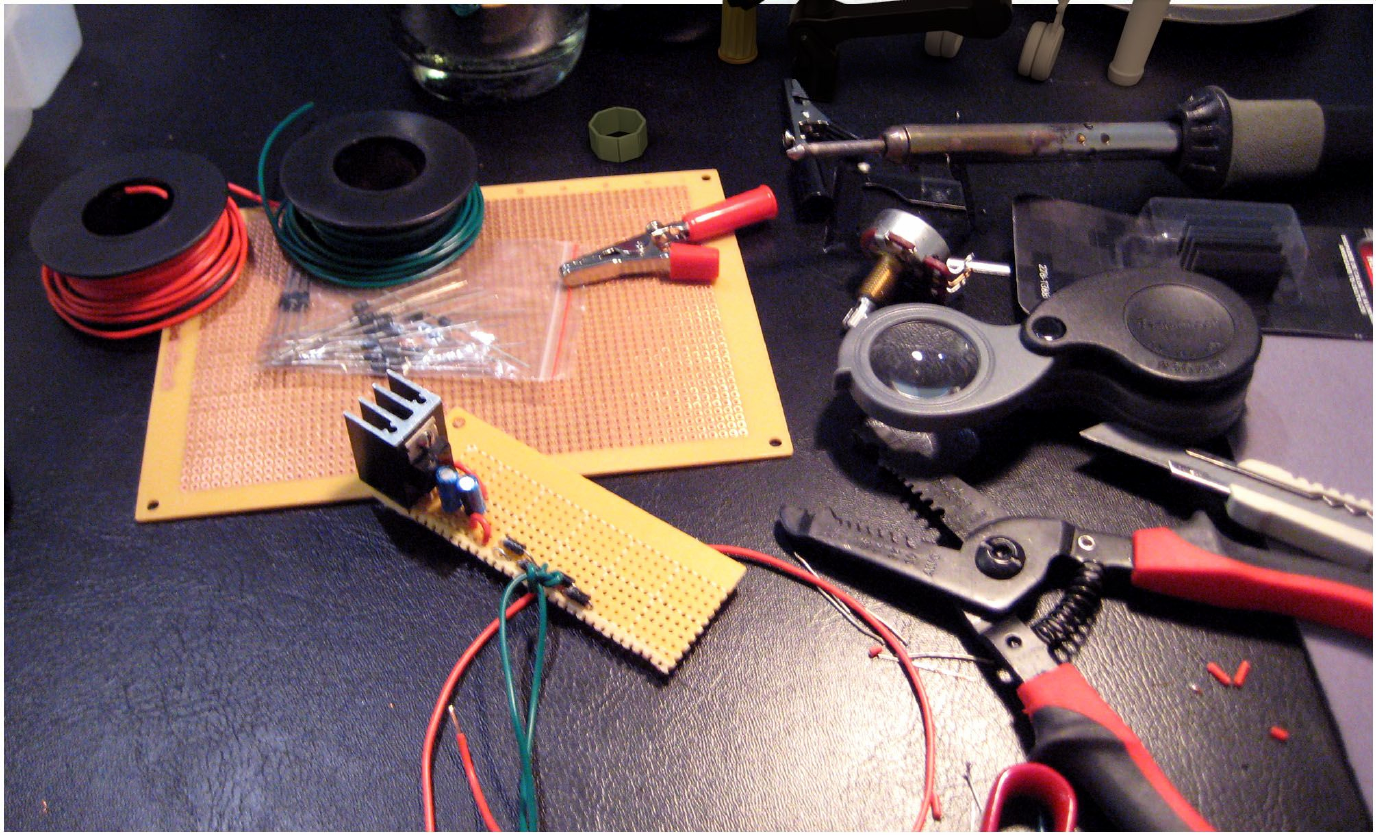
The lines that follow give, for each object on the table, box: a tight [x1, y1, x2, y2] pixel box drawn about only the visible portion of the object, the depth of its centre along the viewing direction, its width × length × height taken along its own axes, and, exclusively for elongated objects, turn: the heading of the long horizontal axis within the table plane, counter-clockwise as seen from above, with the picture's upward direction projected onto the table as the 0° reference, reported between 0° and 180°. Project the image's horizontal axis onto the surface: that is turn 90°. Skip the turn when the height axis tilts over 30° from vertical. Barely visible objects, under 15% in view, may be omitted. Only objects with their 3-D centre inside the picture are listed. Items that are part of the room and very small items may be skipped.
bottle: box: [1107, 0, 1172, 87], centre depth 137 cm, size 5×5×25 cm
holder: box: [587, 106, 649, 163], centre depth 138 cm, size 8×8×4 cm
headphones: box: [924, 0, 1071, 82], centre depth 143 cm, size 20×8×19 cm, turn 62°
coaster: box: [717, 46, 759, 65], centre depth 154 cm, size 7×7×1 cm
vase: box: [719, 0, 758, 60], centre depth 149 cm, size 6×6×14 cm
